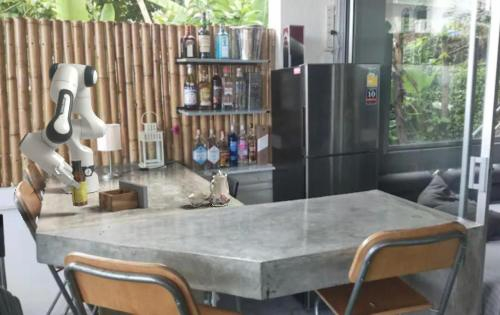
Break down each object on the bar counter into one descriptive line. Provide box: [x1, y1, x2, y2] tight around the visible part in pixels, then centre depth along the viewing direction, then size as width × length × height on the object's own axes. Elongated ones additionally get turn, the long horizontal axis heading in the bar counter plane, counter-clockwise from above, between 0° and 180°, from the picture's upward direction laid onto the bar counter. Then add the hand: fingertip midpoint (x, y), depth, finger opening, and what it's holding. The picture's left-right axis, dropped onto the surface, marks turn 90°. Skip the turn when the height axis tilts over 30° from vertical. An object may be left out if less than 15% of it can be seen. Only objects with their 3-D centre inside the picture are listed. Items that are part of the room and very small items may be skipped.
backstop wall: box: [118, 179, 149, 209], centre depth 203 cm, size 22×2×10 cm, turn 46°
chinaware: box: [186, 169, 232, 208], centre depth 203 cm, size 28×17×17 cm, turn 154°
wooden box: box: [98, 188, 138, 213], centre depth 198 cm, size 12×12×7 cm
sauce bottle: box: [70, 159, 89, 207], centre depth 185 cm, size 6×6×20 cm
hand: (80, 185), depth 186 cm, fingers closed on sauce bottle, 6 cm apart
